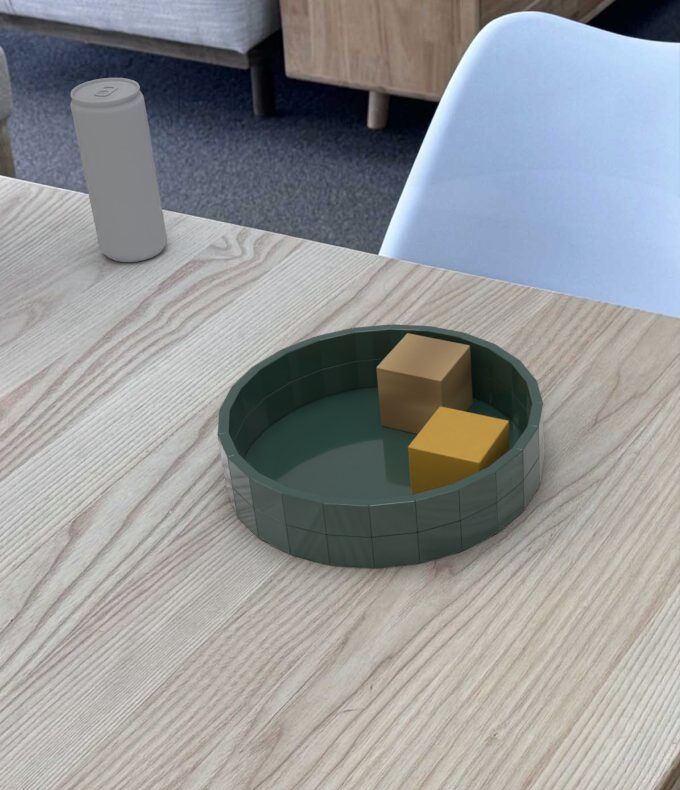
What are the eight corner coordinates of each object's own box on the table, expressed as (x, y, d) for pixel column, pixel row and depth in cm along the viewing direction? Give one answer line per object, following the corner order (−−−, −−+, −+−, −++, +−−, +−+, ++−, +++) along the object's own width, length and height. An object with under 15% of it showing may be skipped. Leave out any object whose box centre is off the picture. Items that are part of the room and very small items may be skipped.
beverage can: (88, 261, 99) (54, 100, 92) (120, 231, 103) (89, 74, 96) (151, 268, 98) (121, 105, 91) (180, 237, 102) (154, 79, 95)
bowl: (166, 531, 73) (152, 462, 71) (323, 367, 87) (316, 303, 84) (467, 610, 68) (463, 537, 65) (586, 421, 81) (586, 355, 79)
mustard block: (412, 508, 74) (407, 446, 71) (443, 466, 77) (439, 405, 74) (482, 525, 72) (479, 462, 70) (511, 481, 75) (509, 420, 73)
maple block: (381, 426, 80) (375, 367, 78) (411, 390, 83) (407, 332, 81) (444, 440, 79) (441, 380, 76) (473, 403, 82) (470, 345, 80)
